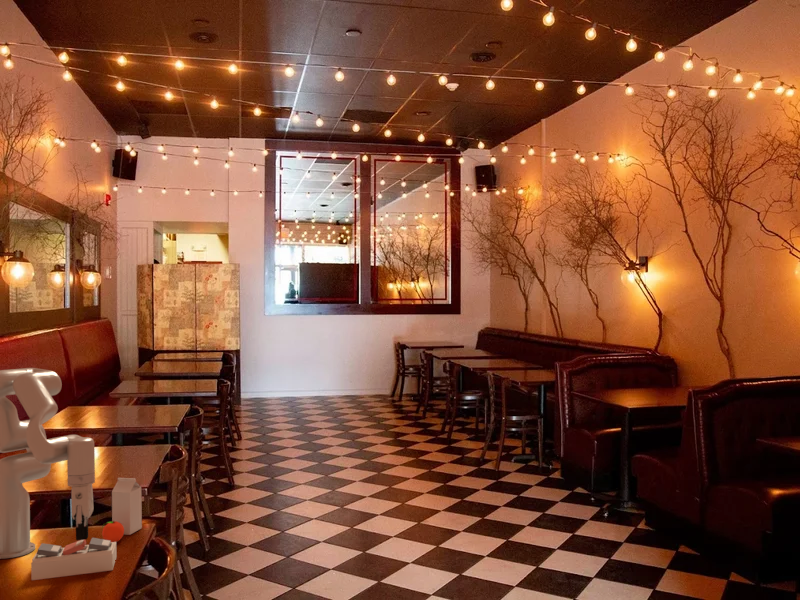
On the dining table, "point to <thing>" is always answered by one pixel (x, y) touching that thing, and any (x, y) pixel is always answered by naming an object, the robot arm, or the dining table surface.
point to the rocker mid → (74, 547)
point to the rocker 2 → (99, 544)
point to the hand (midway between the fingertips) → (82, 538)
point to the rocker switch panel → (73, 563)
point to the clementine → (113, 531)
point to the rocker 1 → (49, 550)
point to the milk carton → (127, 504)
